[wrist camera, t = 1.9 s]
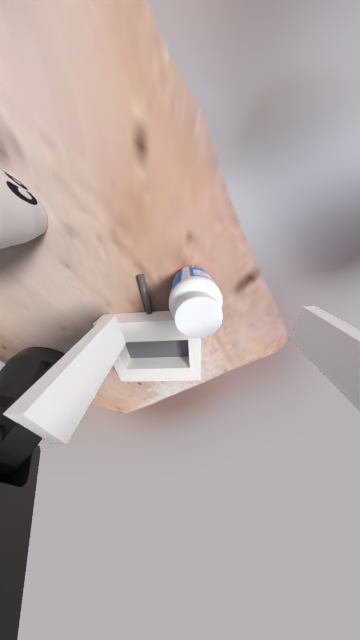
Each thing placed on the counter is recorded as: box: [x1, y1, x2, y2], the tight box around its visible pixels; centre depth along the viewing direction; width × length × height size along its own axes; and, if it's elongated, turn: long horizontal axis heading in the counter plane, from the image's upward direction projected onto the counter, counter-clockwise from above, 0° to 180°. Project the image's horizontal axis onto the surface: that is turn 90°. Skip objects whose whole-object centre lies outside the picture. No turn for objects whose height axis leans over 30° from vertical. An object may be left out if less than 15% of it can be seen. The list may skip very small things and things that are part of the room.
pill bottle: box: [169, 266, 223, 338], centre depth 15 cm, size 6×5×10 cm
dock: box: [93, 274, 201, 382], centre depth 23 cm, size 16×20×3 cm
